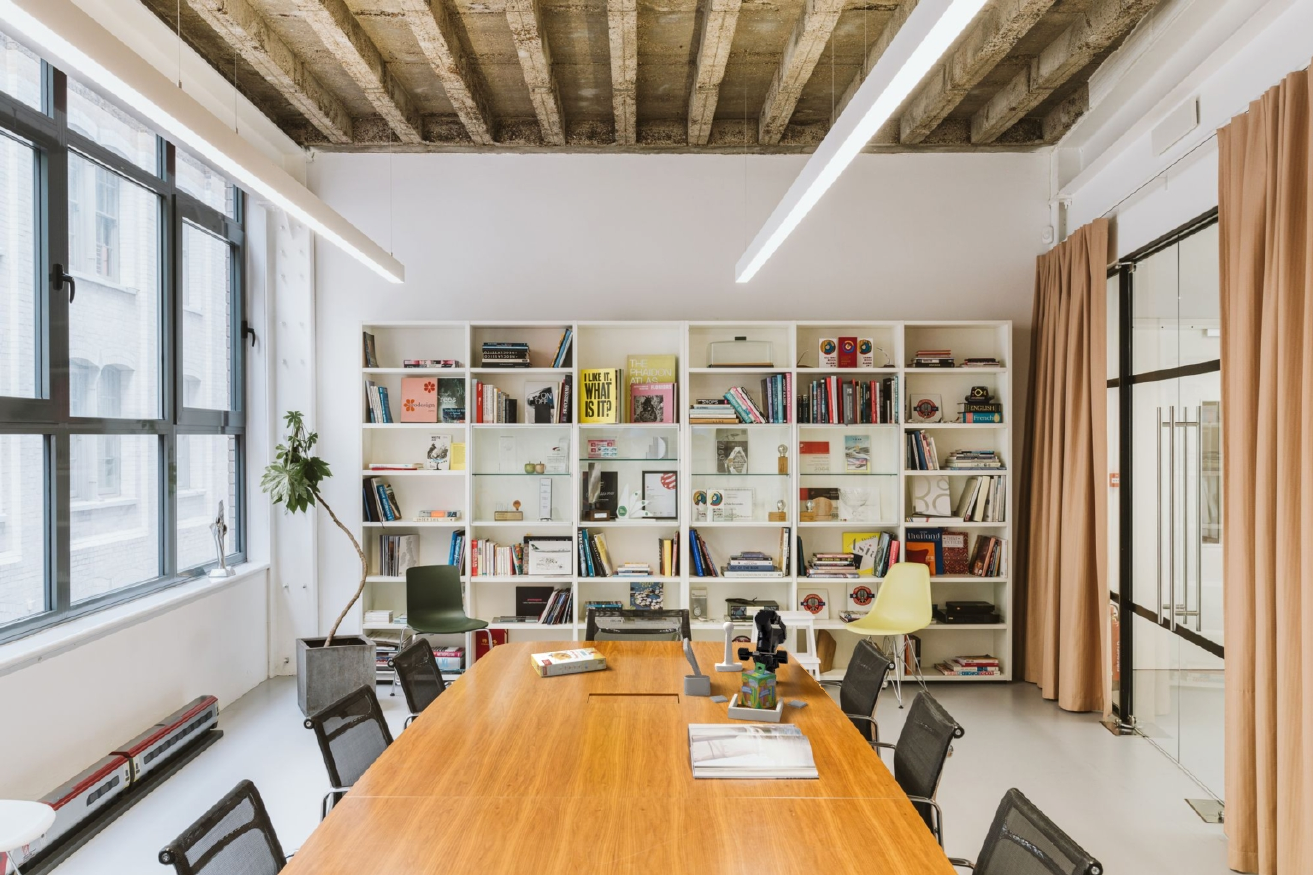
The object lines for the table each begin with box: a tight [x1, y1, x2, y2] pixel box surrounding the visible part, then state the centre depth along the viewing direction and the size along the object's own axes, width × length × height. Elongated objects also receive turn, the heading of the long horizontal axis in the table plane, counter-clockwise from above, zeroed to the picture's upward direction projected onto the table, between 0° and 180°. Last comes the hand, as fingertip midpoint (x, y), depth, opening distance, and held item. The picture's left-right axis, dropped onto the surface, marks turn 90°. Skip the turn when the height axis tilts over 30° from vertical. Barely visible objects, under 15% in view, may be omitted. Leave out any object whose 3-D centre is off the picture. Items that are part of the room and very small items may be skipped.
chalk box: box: [740, 663, 777, 710], centre depth 276 cm, size 9×9×15 cm
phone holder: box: [682, 637, 711, 697], centre depth 296 cm, size 17×10×18 cm, turn 177°
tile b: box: [709, 694, 729, 704], centre depth 282 cm, size 5×5×1 cm
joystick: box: [714, 621, 743, 673], centre depth 320 cm, size 11×8×20 cm
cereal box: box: [530, 647, 607, 678], centre depth 325 cm, size 20×6×28 cm
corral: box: [727, 693, 784, 723], centre depth 269 cm, size 15×17×4 cm
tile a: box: [787, 699, 808, 709], centre depth 276 cm, size 5×5×1 cm
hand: (760, 676), depth 287 cm, fingers closed
